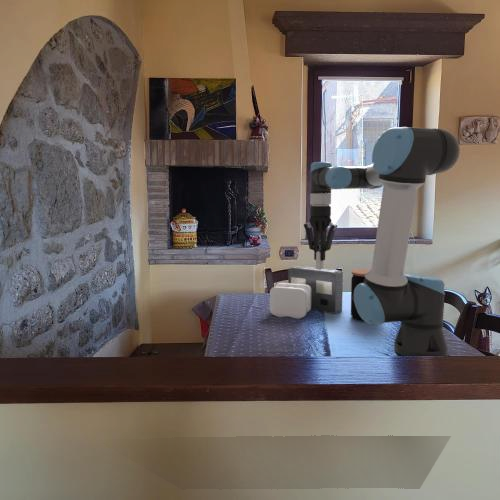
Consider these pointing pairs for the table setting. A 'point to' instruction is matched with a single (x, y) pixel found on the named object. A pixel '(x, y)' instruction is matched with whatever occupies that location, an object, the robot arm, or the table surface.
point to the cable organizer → (290, 300)
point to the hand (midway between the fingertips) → (319, 268)
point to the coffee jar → (356, 279)
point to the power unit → (320, 286)
